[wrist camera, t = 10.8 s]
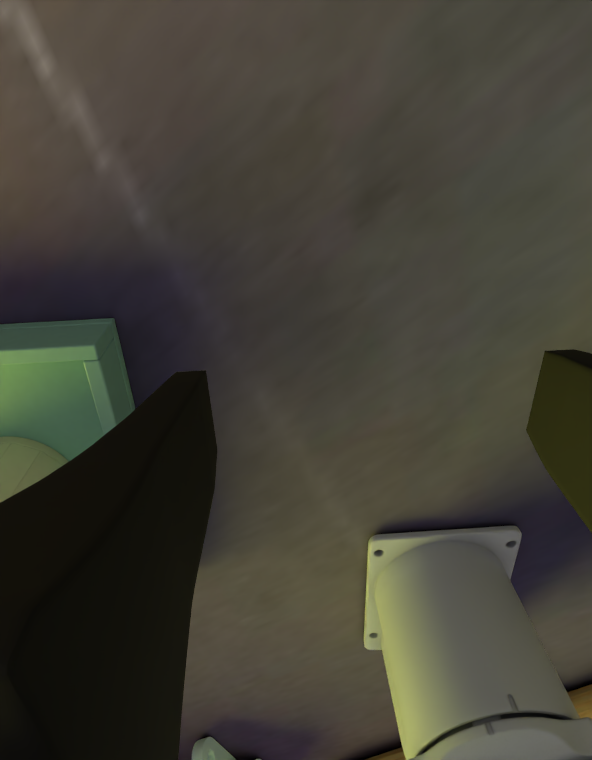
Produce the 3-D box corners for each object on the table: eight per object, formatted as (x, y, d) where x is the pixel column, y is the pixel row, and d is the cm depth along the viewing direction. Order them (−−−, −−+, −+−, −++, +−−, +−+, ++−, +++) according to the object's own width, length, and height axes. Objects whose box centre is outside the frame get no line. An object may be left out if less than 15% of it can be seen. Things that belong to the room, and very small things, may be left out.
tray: (175, 578, 27) (167, 620, 25) (-34, 592, 26) (-61, 636, 24) (114, 317, 19) (94, 344, 17) (-179, 333, 19) (-236, 363, 17)
